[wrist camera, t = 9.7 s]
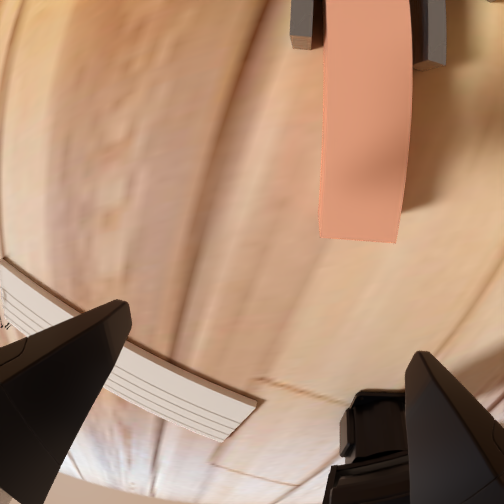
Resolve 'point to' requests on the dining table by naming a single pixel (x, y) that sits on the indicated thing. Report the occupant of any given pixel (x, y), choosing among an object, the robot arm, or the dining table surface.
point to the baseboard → (133, 367)
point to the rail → (365, 118)
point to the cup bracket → (422, 27)
